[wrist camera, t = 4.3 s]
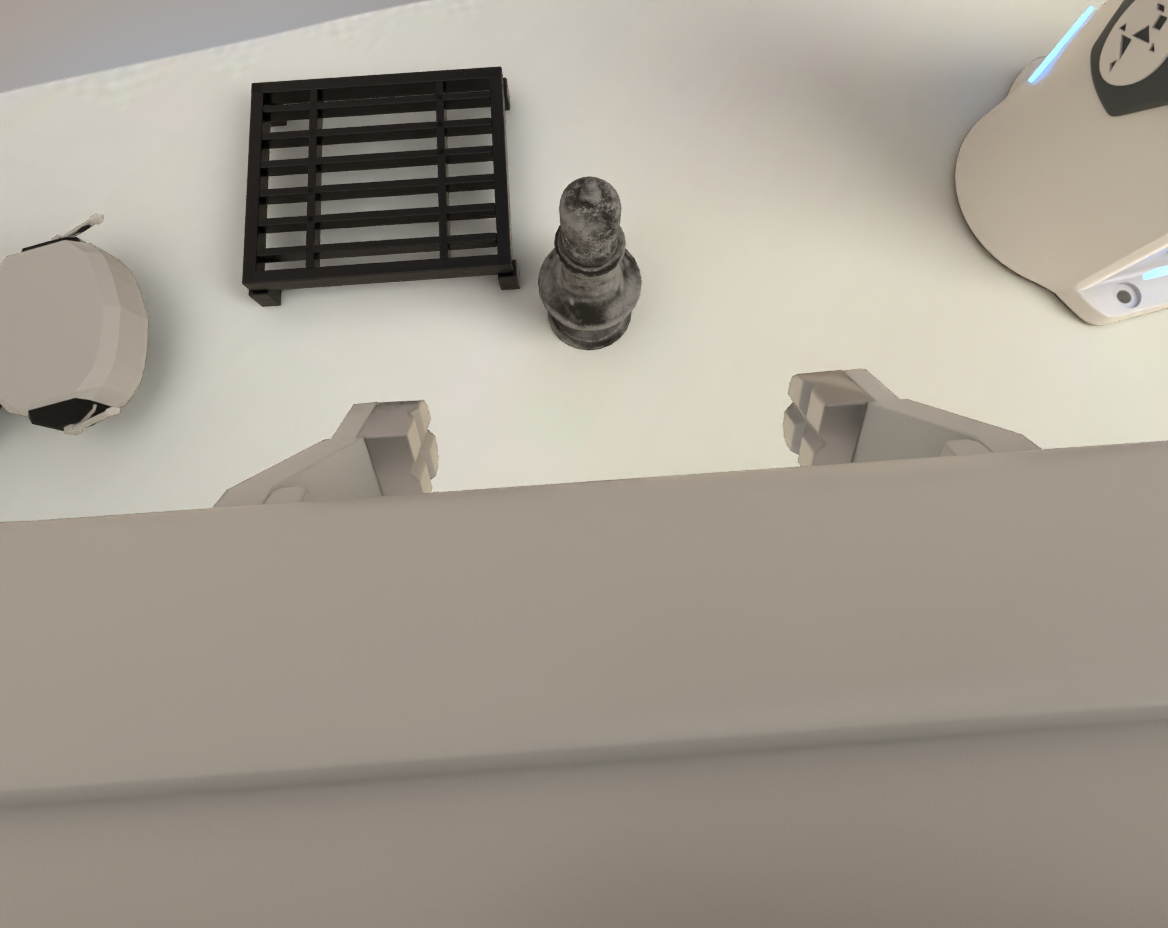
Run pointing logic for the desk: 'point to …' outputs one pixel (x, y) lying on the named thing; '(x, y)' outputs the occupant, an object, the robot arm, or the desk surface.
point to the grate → (316, 91)
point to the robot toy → (69, 333)
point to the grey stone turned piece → (589, 268)
